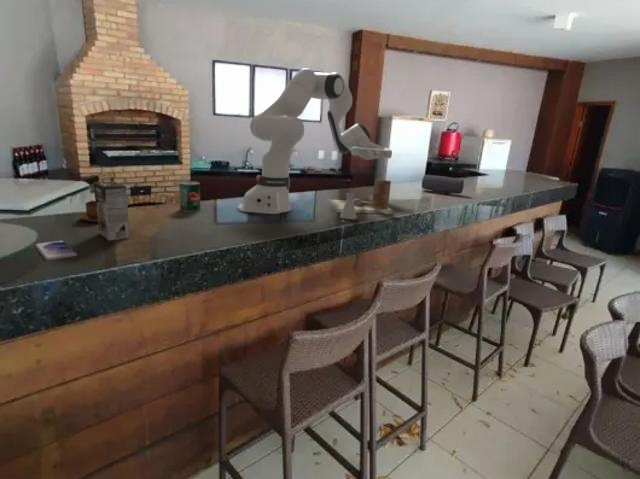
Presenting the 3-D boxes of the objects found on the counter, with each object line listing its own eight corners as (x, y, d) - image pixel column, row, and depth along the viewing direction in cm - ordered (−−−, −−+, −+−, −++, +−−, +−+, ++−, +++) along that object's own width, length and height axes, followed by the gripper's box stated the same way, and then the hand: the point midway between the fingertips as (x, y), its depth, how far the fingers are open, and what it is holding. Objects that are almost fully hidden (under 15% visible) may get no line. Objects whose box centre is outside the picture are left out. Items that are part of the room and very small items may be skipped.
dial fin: (352, 204, 180) (354, 177, 176) (354, 203, 184) (356, 176, 180) (386, 209, 175) (389, 181, 171) (388, 207, 178) (391, 180, 175)
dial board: (337, 212, 171) (337, 208, 171) (330, 202, 190) (330, 199, 190) (392, 213, 175) (393, 210, 174) (380, 204, 194) (380, 200, 193)
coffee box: (98, 233, 123) (92, 182, 118) (120, 230, 127) (115, 180, 123) (108, 241, 117) (102, 186, 112) (130, 237, 121) (126, 185, 116)
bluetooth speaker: (462, 194, 236) (465, 178, 233) (458, 196, 228) (461, 179, 225) (425, 189, 247) (427, 173, 244) (420, 191, 240) (422, 174, 237)
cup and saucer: (76, 218, 139) (74, 201, 137) (113, 214, 146) (112, 198, 145) (83, 226, 130) (81, 207, 128) (122, 222, 138) (121, 204, 136)
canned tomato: (197, 212, 156) (196, 184, 153) (177, 211, 156) (176, 183, 153) (202, 208, 164) (202, 181, 161) (183, 207, 164) (182, 180, 161)
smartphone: (63, 240, 114) (77, 254, 104) (63, 242, 114) (78, 257, 104) (33, 243, 109) (45, 258, 99) (34, 246, 110) (46, 261, 99)
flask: (356, 220, 159) (358, 196, 156) (338, 219, 160) (340, 194, 157) (357, 216, 165) (360, 193, 162) (340, 215, 167) (342, 191, 164)
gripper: (349, 142, 200) (354, 145, 187) (388, 146, 202) (396, 149, 189) (347, 155, 202) (352, 159, 189) (386, 158, 204) (394, 162, 192)
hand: (374, 154), depth 189 cm, fingers closed
